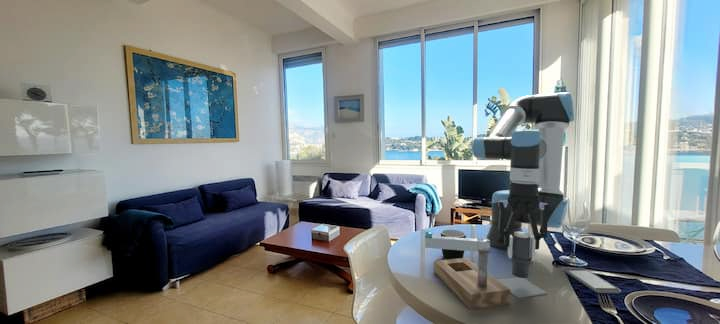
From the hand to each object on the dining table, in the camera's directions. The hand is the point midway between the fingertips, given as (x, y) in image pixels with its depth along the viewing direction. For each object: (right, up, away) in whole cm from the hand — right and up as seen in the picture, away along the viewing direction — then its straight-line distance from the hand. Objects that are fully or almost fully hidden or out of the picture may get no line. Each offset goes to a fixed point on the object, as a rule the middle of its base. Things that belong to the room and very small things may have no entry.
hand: (520, 257), depth 87 cm
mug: (-14, -8, +24) cm, 28 cm away
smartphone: (+25, -10, +5) cm, 27 cm away
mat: (0, -9, +1) cm, 9 cm away
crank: (-21, +4, -5) cm, 22 cm away
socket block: (-15, -9, +2) cm, 18 cm away
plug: (0, -5, 0) cm, 5 cm away
